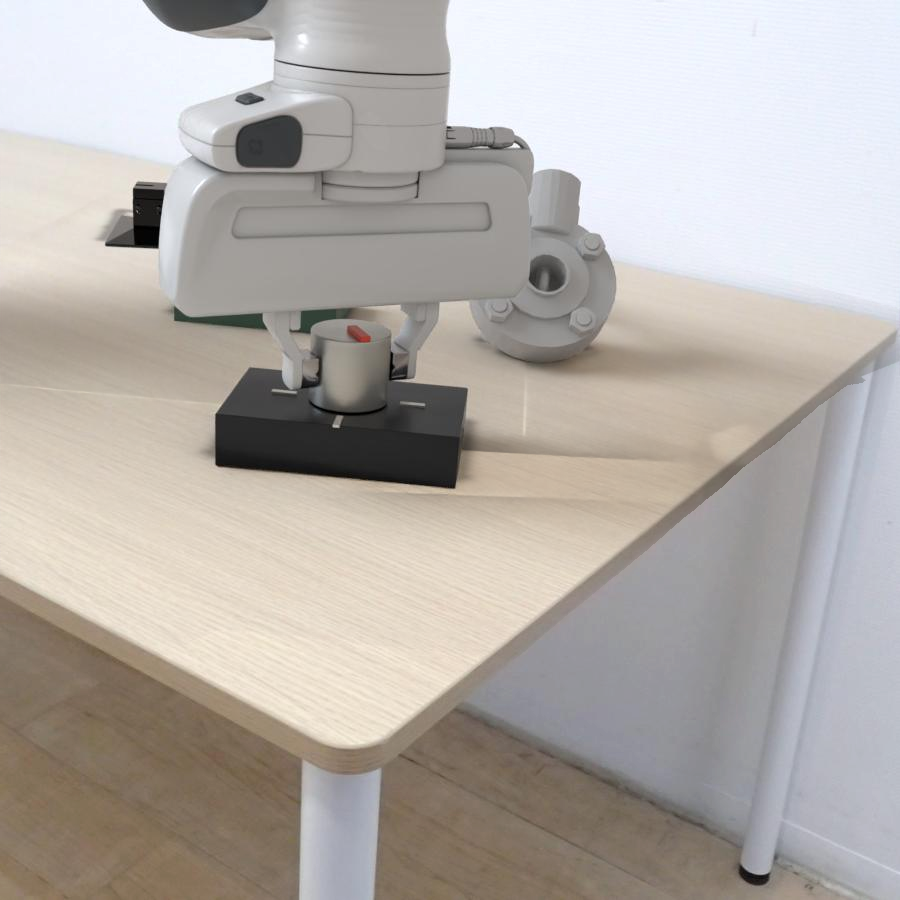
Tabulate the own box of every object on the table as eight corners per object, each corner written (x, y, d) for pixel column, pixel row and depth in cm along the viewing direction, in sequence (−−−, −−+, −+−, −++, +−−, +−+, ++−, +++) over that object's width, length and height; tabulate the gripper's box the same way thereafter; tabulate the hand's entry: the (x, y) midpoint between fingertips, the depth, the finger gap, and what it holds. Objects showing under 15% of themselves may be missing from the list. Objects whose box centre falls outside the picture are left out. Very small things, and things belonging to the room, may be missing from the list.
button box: (173, 321, 86) (173, 268, 85) (202, 293, 94) (202, 244, 92) (335, 336, 86) (337, 283, 85) (351, 307, 93) (353, 258, 92)
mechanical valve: (464, 328, 80) (492, 140, 85) (445, 415, 97) (469, 254, 102) (612, 352, 80) (631, 163, 85) (567, 434, 97) (585, 273, 102)
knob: (297, 389, 66) (300, 315, 65) (370, 383, 68) (374, 311, 66) (323, 416, 63) (326, 339, 61) (399, 409, 64) (404, 334, 63)
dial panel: (213, 468, 63) (213, 413, 62) (249, 412, 71) (250, 362, 70) (455, 491, 62) (459, 436, 61) (464, 432, 70) (468, 383, 69)
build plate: (121, 219, 117) (120, 172, 115) (196, 223, 118) (196, 176, 116) (104, 246, 106) (102, 194, 104) (187, 250, 107) (187, 199, 105)
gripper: (508, 118, 67) (487, 350, 72) (146, 112, 58) (152, 377, 63) (566, 136, 62) (538, 384, 67) (179, 132, 53) (182, 419, 58)
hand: (348, 381), depth 65 cm, fingers closed on knob, 4 cm apart
